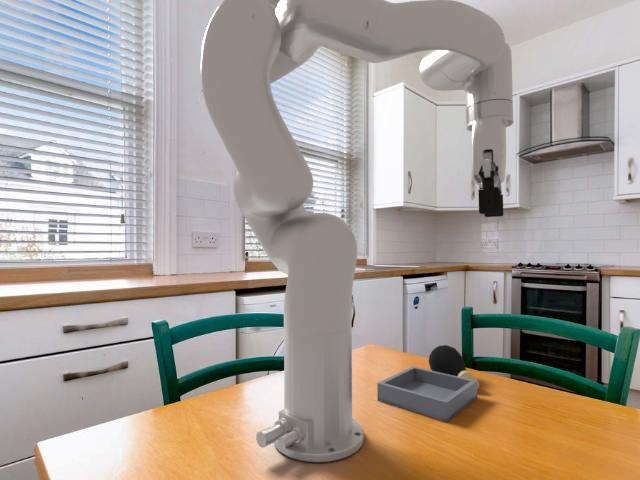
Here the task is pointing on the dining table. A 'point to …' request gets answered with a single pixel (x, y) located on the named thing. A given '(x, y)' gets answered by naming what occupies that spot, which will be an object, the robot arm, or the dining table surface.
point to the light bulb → (449, 362)
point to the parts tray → (428, 392)
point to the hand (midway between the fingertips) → (491, 215)
